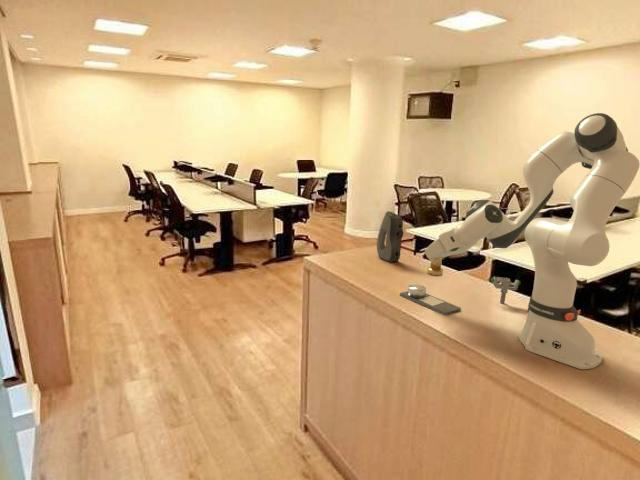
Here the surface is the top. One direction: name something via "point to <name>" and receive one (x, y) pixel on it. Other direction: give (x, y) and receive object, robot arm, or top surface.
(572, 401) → the top surface
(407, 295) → the carrier plate
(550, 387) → the top surface
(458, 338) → the top surface
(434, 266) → the gold pawn piece
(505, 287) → the mechanical component
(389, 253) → the handheld device
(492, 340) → the top surface
